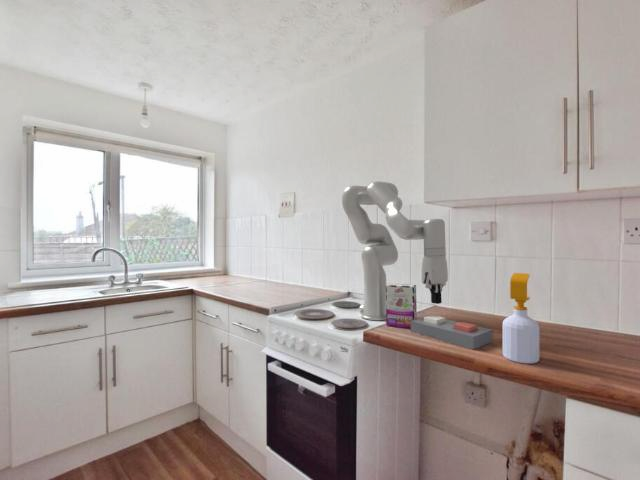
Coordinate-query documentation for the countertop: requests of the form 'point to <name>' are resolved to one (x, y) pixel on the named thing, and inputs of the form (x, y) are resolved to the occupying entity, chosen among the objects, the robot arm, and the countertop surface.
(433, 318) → the ivory key
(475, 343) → the key console
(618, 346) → the countertop surface
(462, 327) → the brick-red key
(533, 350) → the soap bottle
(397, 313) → the candy bar box
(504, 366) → the countertop surface
